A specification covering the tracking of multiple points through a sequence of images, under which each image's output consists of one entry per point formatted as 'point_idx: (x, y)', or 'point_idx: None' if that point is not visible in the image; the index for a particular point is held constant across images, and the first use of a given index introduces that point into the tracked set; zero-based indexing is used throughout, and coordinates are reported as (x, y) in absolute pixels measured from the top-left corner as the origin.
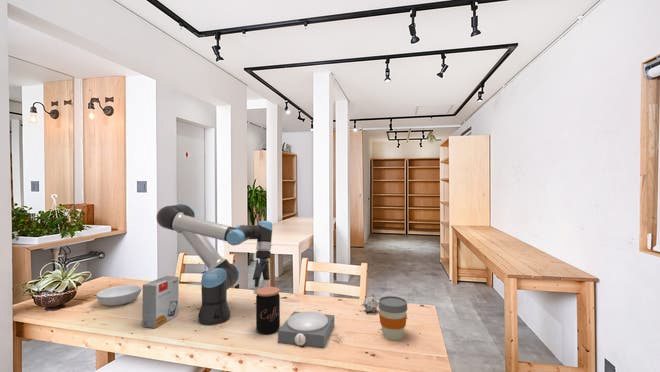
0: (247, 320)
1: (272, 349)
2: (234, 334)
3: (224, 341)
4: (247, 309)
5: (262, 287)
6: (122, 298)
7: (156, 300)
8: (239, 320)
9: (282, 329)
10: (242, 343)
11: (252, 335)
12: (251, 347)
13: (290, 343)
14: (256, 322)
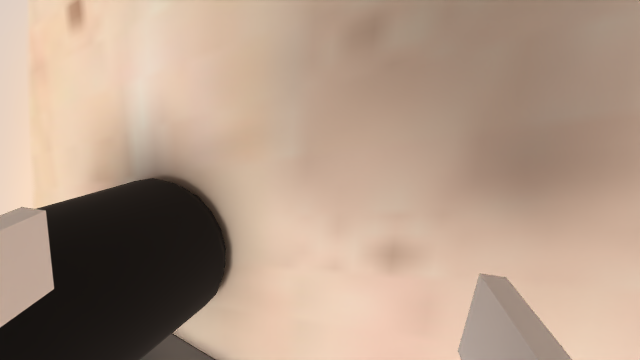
0: (287, 88)
1: None
2: (114, 50)
3: (53, 16)
4: (555, 22)
5: (522, 350)
6: None
7: None
8: (289, 18)
9: None
10: (54, 121)
11: (116, 160)
12: (38, 169)
13: None
14: (96, 192)
